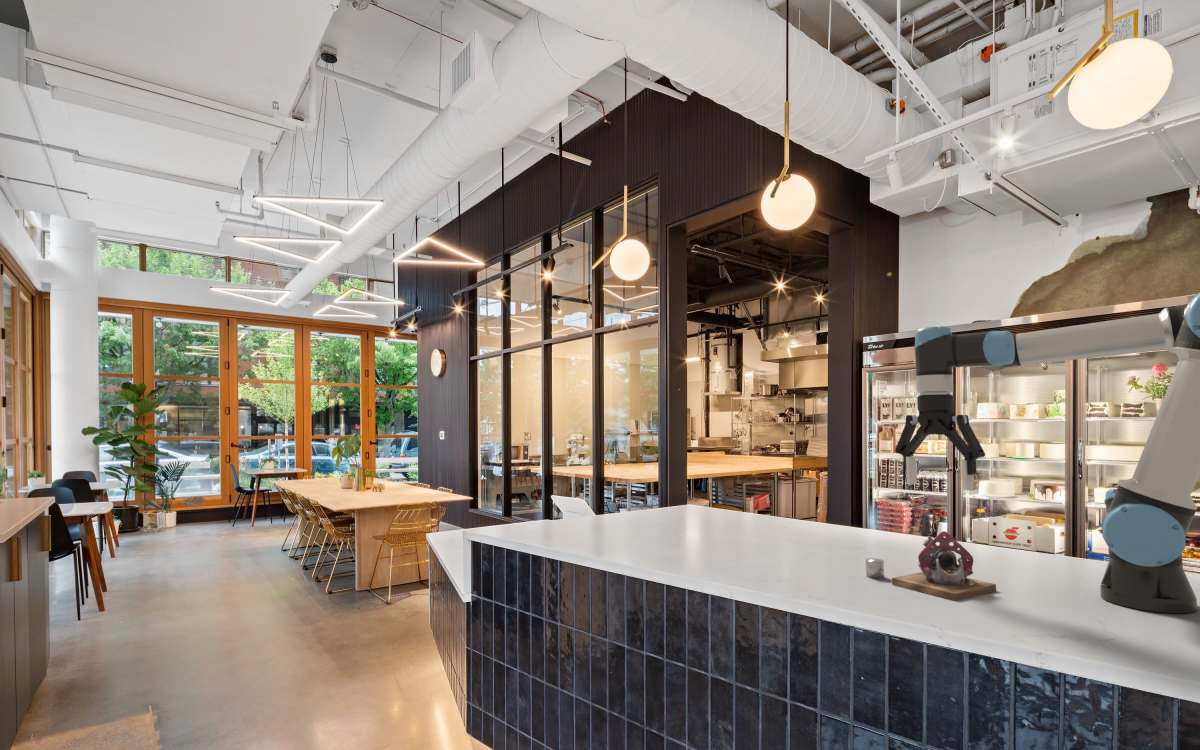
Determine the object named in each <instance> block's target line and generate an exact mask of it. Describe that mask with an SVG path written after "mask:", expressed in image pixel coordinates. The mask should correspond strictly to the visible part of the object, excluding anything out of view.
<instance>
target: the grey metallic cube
mask: <svg viewBox="0 0 1200 750" xmlns="http://www.w3.org/2000/svg"><path fill="white" fill-rule="evenodd" d="M865 576H866V577H867V578H869V579H874V580H882V579H885V561H884V559H881V558H871V557H869V558H865Z"/></svg>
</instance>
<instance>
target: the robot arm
mask: <svg viewBox="0 0 1200 750" xmlns="http://www.w3.org/2000/svg"><path fill="white" fill-rule="evenodd" d="M952 333H953V332H952V330H951V328H950V327H948V326H945V325H944V326H927V327H921V328H918V329H916V331H915V333H914V334H915V335H914V336H915V337H914V349H913V350H914V355H915V357H914V358H915V372H916V373H915V375H916V376H915V378H916V379H915V380H916V381H915V383H916V393H918V394H919V395H917V397H916V404H917V407H916V408H917V411H918V415H916V414H910V415H909V414H907V415H906V416H905V425H904V427H903V430H902V433H901V435H900V437H899V439H898V442H897V444H896V447H895V449H894V452H895V454H899V455H901V456H902V459H903V461H902V462H903V470H904V471H906V485H908V486H909V485H917V484H918V476H917V475H918V473H917V472H918V470H917V456H915V452H916V451H917V450H918V448H919V447H920V446H921V445H922V443H923V442H924V440H925V439H926V438H927V437H928V436H930V435H938V436H939V435H940V436H941V435H942V436H943V435H944V436H945V437H946V438H948V440H950V442H951V443H952V444H953V445H954V447H955V448H956V449H957V450H958V452H959V453H960V454H961V456H963V457H964V459H961V474H962V476H961V477H962V490H963V491H971V490H972V491H973V490H975V488H974V487H975V486H974V485H975V484H974V476H976V475H977V460H978V459H980V458H985V457H986V453H985V451H984V449H983V447H982V445H981V443H980V442H979V439H978V437H977V436H976V434H975V432H974V430H973V428H972V427H971V424H970V419H969V415H968V414H957V415H955V414H954V410H955V399H954V395H953V394H951V393H953V392H954V380H953V378H954V377H953V376H954V373H953V370H954V369H953V368H967V367H969V368H970V367H971V368H972V367H973V368H974V367H982V368H985V369H986V370H990V371H1000V370H1003V369H1006V368H1013V367H1014V368H1017V367H1022V366H1031V365H1039V364H1047V363H1056V362H1058V363H1059V362H1065V361H1066V362H1067V361H1076V360H1084V359H1092V358H1102V357H1110V356H1111V357H1112V356H1117V355H1118V356H1120V355H1121V356H1122V355H1128V354H1136V353H1147V352H1155V351H1167V352H1169V353H1171V354H1175V355H1176V356H1177V357H1178V362H1177V364H1176V366H1175V369H1174V372H1173V374H1172V377H1171V380H1170V382H1169V384H1168V387H1167V389H1166V392H1165V395H1164V397H1163V399H1162V403H1161V404H1160V407H1159V409H1158V412H1157V415H1156V416H1155V420H1154V422H1153V424H1152V427H1151V429H1150V432H1149V435H1148V437H1147V439H1146V442H1145V445H1144V447H1143V449H1142V452H1141V455H1140V456H1139V457H1140V458H1139V460H1138V462H1137V465H1136V468H1135V470H1134V472H1133V475H1132V477H1131V478H1129V479H1127V480H1123V481H1121V482H1119V483H1118V486H1117V488H1110V489H1108V490H1107V491H1106V492H1105V497H1104V504H1105V510H1106V511H1105V517H1104V518H1103V520H1102V522H1101V535H1102V538H1103V540H1104V543H1105V544H1106V545H1107V550H1108V563H1107V566H1106V568H1105V571H1104V574H1103V577H1102V579H1101V582H1100V587H1099V588H1100V590H1099V591H1100V597H1101V598H1102V599H1103V600H1105V601H1107V602H1110V603H1112V604H1115V605H1117V606H1118V605H1119V606H1122V607H1127V608H1130V609H1131V608H1132V609H1136V610H1142V611H1148V612H1157V613H1168V614H1189V613H1191V614H1192V613H1195V612H1196V611H1198V599H1197V596H1196V593H1195V592H1194V589H1193V588H1192V586H1191V583H1190V581H1189V580H1188V577H1187V575H1186V572H1185V570H1184V568H1183V567H1184V565H1183V563H1184V562H1183V552H1184V551H1185V549H1186V545H1187V544H1186V542H1187V535H1188V532H1189V529H1190V526H1191V524H1192V522H1193V519H1194V517H1195V514H1196V511H1197V510H1198V506H1197V505H1196V503H1195V502H1194V500H1193V499H1192V495H1191V494H1192V492H1193V490H1194V488H1195V485H1196V483H1197V480H1198V478H1199V476H1200V291H1199V292H1198V293H1197V294H1196V295H1194V296H1193V298H1192V299H1191V300H1190V301H1189V302H1187V303H1185V304H1184V303H1182V304H1179V305H1176V306H1174V305H1173V306H1168V307H1164V308H1163V309H1162V310H1161V311H1160V312H1158V313H1155V314H1154V313H1153V314H1146V315H1139V316H1133V317H1125V318H1118V319H1112V320H1106V321H1098V322H1090V323H1085V324H1078V325H1069V326H1063V327H1062V326H1061V327H1057V328H1056V327H1055V328H1048V329H1042V330H1036V331H1035V330H1034V331H1028V332H1020V333H1016V334H1013V333H1012V332H1011V331H1009V330H990V331H982V332H981V331H980V332H972V333H961V334H956V333H954V334H952ZM955 424H956V425H957V427H958V429H959V431H960V433H961V435H962V436H961V435H960V434H959V432H958V430H957V429H956V427H955V426H954V425H955ZM917 425H919V427H918V429H917V430H916V428H917ZM915 430H916V432H915ZM914 433H915V434H914ZM962 437H963V438H962Z"/></svg>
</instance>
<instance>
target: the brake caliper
mask: <svg viewBox="0 0 1200 750" xmlns="http://www.w3.org/2000/svg"><path fill="white" fill-rule="evenodd" d="M936 543H939V545H937V544H936ZM951 544H952V545H951ZM922 545H923V546H924V548H923V549H922V550H921V551H920V552H919V554H918V555H917V556H918V557H917V558H918V562H917V565H918V568H919V569H920V570H921V572H923V573H924V574H925V576H926V578H927V579H928V580H931V581H934V582H935V583H936V584H940V585H957V586H962V585H963V584H964V582H965V584H967V585H974V584H973V583H972V581H971V580H969V579H968V578H969V576H972V575H973V574H974V571H973V565H974V557H973V556H972V554H971V553H970V552H969V551H968V550H967V549H966V548H964V547H963V545H962V544H960V543H959V542H958V541H957V540H956V539H955V537H953V536H952V535H951V534H950V533H949V532H947V531H945V530H943V531H941V532H939V533H938V535H935V537H934V538H932V537H931V536H930V535H927V538H926V539H925V540H924V541H923V542H922ZM955 553H956V554H958V555H959V556H960V557H958V559H957V556H956V554H955Z"/></svg>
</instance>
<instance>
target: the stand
mask: <svg viewBox="0 0 1200 750" xmlns="http://www.w3.org/2000/svg"><path fill="white" fill-rule="evenodd" d="M967 578H968V579H969V580H971V581H972V583H973V584H974V585H967V584H965V582H964V584H963V585H962V586H957V585H940V584H936V583H935V582H934V581H931V580H928V579H927V578H926V576H925V574H924V573H923V572H922V571H921V572H916V573H911V574H906V575H901V576H900V575H899V576H895V577H891V585H894V586H898V587H901V588H904V589H905V588H906V589H910V590H912V591H913V590H914V591H917V592H921V593H925V594H928V595H933V596H935V597H941V598H944V599H947V600H951V601H954V602H955V601H958V600H964V599H967V598H972V597H977V596H980V595H984V594H988V593H994V592H997V584H996V583H992V582H988V581H987V582H986V581H983V580H979V579H974V578H970V577H967Z"/></svg>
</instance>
